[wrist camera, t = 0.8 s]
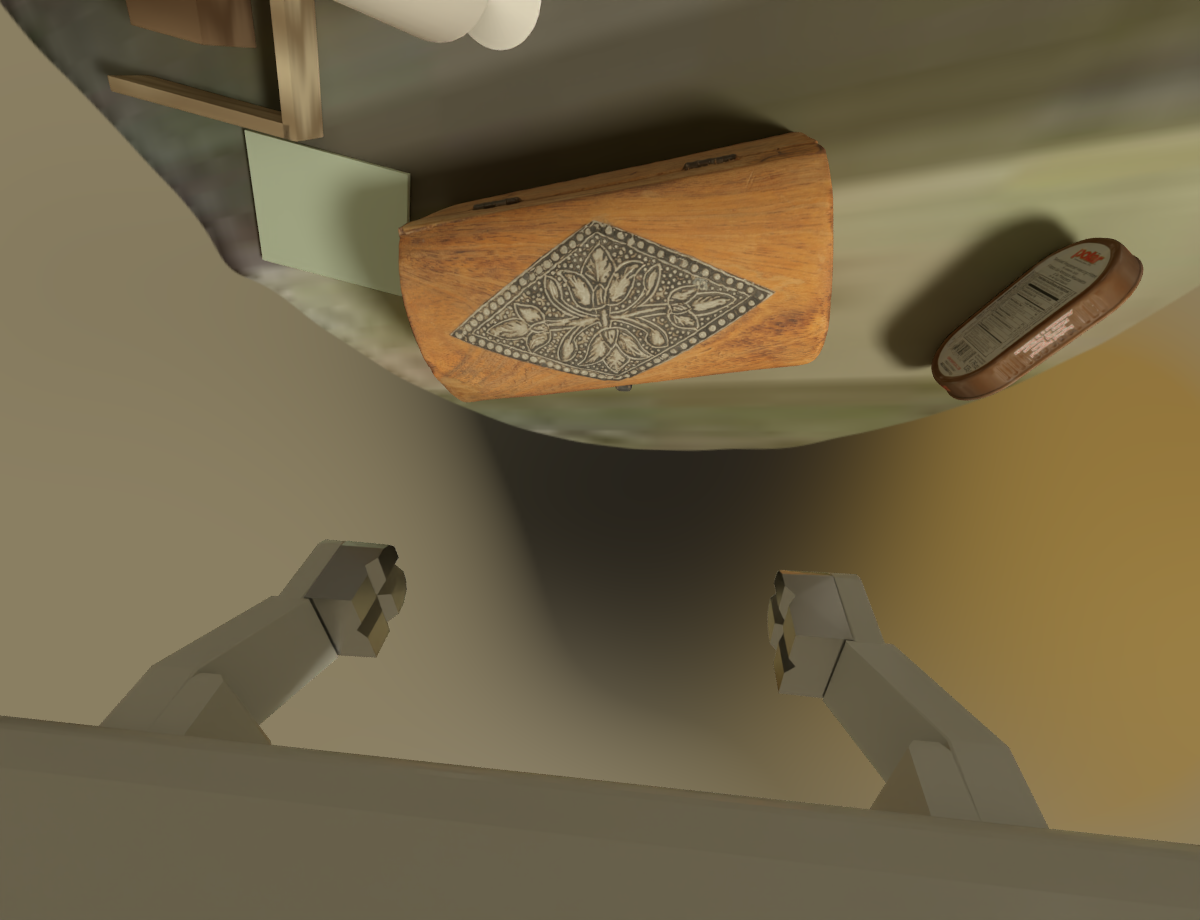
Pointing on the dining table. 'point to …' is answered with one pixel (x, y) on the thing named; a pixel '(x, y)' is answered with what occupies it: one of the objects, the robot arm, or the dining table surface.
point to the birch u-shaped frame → (296, 98)
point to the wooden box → (628, 274)
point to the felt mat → (328, 211)
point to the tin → (1036, 317)
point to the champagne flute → (456, 19)
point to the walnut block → (197, 20)
